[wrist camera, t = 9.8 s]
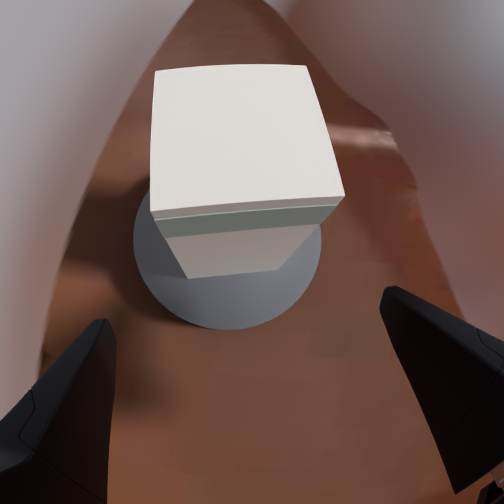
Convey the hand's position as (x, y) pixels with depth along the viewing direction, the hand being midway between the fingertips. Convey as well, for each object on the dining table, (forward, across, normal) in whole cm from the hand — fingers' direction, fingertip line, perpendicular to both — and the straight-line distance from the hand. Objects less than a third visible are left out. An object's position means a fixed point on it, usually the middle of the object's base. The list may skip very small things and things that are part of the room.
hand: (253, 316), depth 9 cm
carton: (+9, 0, +2) cm, 9 cm away
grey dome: (+11, 0, +4) cm, 12 cm away
